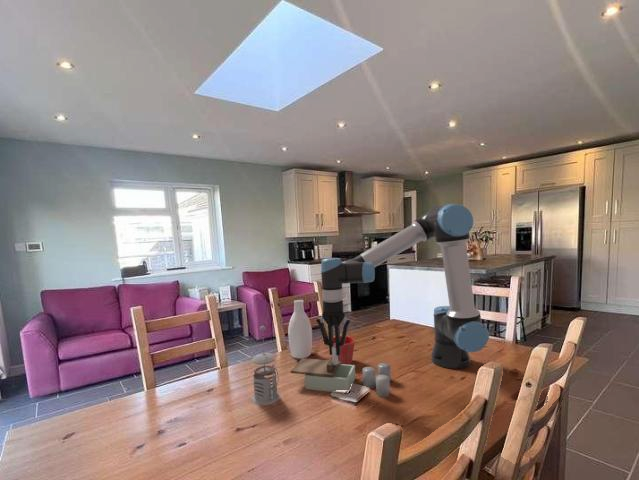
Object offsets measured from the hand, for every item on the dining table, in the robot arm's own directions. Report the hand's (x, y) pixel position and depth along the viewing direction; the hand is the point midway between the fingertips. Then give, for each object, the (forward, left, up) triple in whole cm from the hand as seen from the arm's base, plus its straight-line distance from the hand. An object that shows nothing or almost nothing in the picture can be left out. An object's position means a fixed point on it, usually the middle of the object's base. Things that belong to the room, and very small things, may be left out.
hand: (335, 363), depth 116 cm
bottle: (+23, -24, -8) cm, 34 cm away
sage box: (+2, 0, -8) cm, 8 cm away
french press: (+21, +15, -8) cm, 27 cm away
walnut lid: (+7, 0, -2) cm, 8 cm away
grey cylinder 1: (-12, -2, -8) cm, 14 cm away
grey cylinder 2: (-17, -7, -8) cm, 20 cm away
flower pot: (+2, -20, -8) cm, 22 cm away
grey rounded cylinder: (-18, +3, -8) cm, 19 cm away
